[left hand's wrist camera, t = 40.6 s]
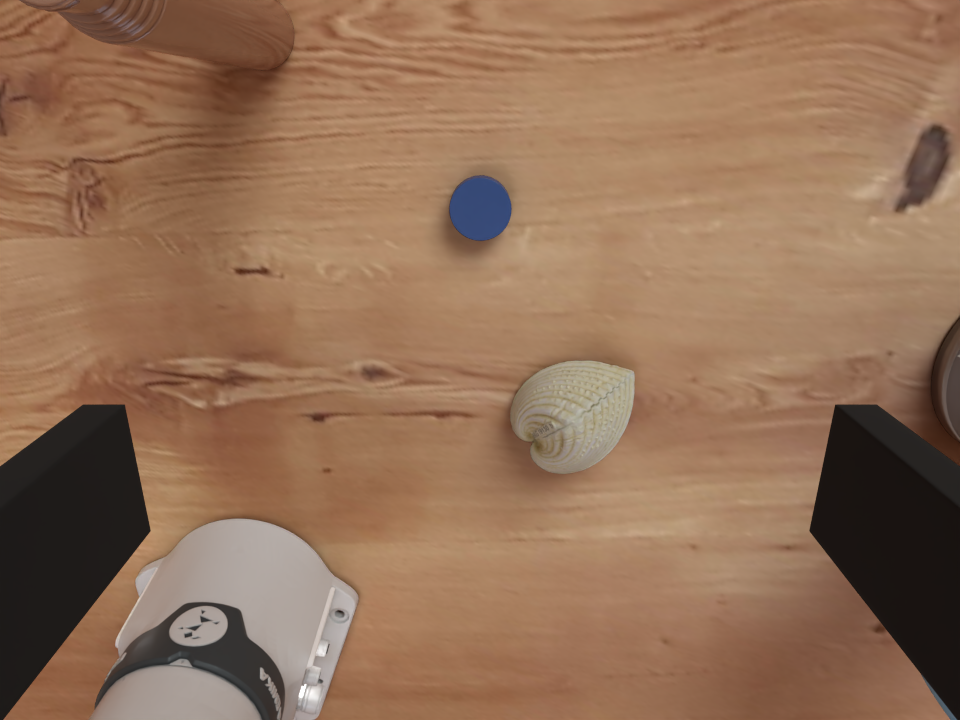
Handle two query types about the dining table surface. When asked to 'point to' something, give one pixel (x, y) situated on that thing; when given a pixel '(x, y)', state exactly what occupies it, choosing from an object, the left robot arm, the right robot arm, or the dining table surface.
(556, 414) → the seashell
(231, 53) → the bottle
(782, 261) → the dining table surface
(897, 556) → the left robot arm
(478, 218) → the cap
